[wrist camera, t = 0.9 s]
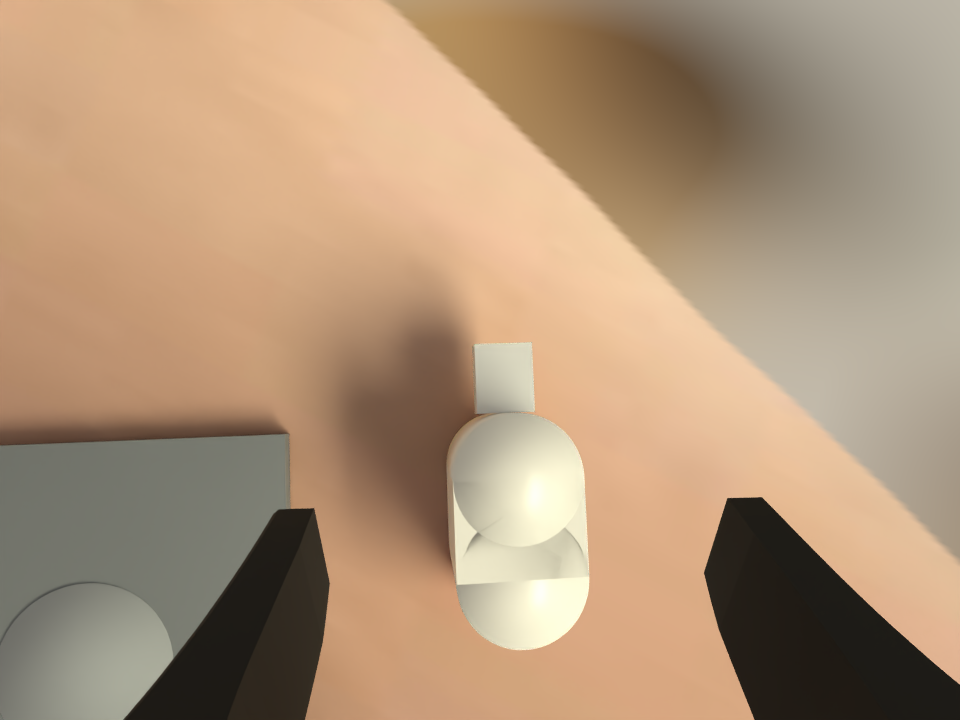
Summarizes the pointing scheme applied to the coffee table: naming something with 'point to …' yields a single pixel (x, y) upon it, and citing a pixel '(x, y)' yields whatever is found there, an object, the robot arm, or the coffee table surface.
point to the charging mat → (120, 560)
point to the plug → (515, 509)
